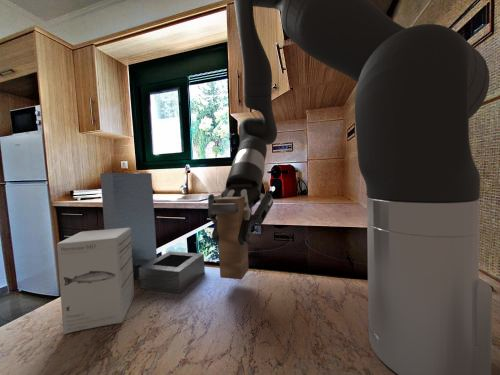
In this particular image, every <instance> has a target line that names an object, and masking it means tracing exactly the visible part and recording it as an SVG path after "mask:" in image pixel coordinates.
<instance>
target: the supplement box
mask: <svg viewBox="0 0 500 375" xmlns="http://www.w3.org/2000/svg"><path fill="white" fill-rule="evenodd" d="M56 249H57V264H58V266H57V267H58V279H59V292H60V303H61V319H62V320H61V321H62V333H63V334H64V335H67V334H71V333H75V332H78V331H84V330H88V329H94V328H100V327H104V326H109V325H117V324H121V323H123V321H124V320H125V317H126V316H127V314H128V311H129V309H130V307H131V305H132V303H133V300H134V298H135V290H134V289H135V284H134V280H133V264H132V248H131V228H119V229H107V230H105V229H96V230H87V231H86V230H85V231H80V232H78V233H76V234H73V235H71V236H69V237H67V238H65V239H64V240H61V241H59V242H58V243H56Z"/></svg>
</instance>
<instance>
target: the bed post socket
mask: <svg viewBox="0 0 500 375" xmlns="http://www.w3.org/2000/svg"><path fill="white" fill-rule="evenodd" d="M99 175H100V187H101V188H100V189H101V200H102V202H101V203H102V213H103V216H102V217H103V224H104V225H103V226H104V229H103V230H107V229H119V228H131V248H132V264H133V281H135V280H139V287H140V289H144V290H151V291H157V292H165V293H172V294H178V295H179V294H180V295H182V293H183V292H184V291H185V290H186V289H187V288H189V287H190V286H191V285H192V284H193V283H194V282H195V281H196V280H198V279H199V278H200V277H201V276H202V275H204V273H205V270H206V269H205V254H204V253H197V252H182V251H167V252H166V253H164V254H162V255H160V256H158V252H157V239H156V237H157V236H156V224H155V207H154V192H153V179H152V178H153V176H152V172H151V173H150V172H149V173H148V172H147V173H146V172H143V173H140V172H134V173H133V172H110V173H109V172H108V173H107V172H105V173H100V174H99Z"/></svg>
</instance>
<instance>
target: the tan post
mask: <svg viewBox="0 0 500 375" xmlns="http://www.w3.org/2000/svg"><path fill="white" fill-rule="evenodd" d="M244 205H245V196H243V197H223V198H219V199H216V203H215V204H211V210H212V214H217V228H218V240H219V242H218V244H217V245H218V257H219V258H218V260H219V261H218V262H219V275H220V276H219V277H220V278H222V279H230V280H231V279H233V280H239V281H241V280H243V279H244V277H245V276H246V274H248V271H249V270H250V268H249V252H248V251H249V250H248V242H245V245H240V243H239V242H238V235H239V232H240V228H241V223H242V221H244V217H243V214H244Z"/></svg>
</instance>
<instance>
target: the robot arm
mask: <svg viewBox="0 0 500 375" xmlns="http://www.w3.org/2000/svg"><path fill="white" fill-rule="evenodd" d="M233 2H234V10H235V11H234V12H235V19H236V26H237V32H238V39H239V44H240V45H239V46H240V52H241V58H242V59H241V60H242V70H243V71H242V72H243V95H244V96H243V98H244V99H243V101H244V106H245V107H246V108H247V109H249V110H254V111H257V112H259V113H260V114H262V116H263V118H261V117H247V118H244V119H243V120H241V121H240V123H239V126H238V135H239V146H238V149H237V153H236V155H235V157H234V159H233V161H232V164H231V167H230V170H229V173H228V175H227V179H226V181H225V188H224V190H222V192H221V194H218V195H214V194H211V193H210V194H209V195H208V196H207V206H208V207H207V208H208V209H207V210H208V211H207V212H208V213H207V214H208V217H209V219H210V220H211V222H212V223H213V224H214V226H213V229H212V233H211V237H212V239H213V241H214V242H215V243H216V244H217V245H218V242H219V240H218V228H217V214H212V210H211V204H215V203H216V199H219V198H223V197H243V196H245V205H244V214H243V217H244V221H242V223H241V228H240V232H239V235H238V242H239V243H240V245H245V242H247V243H248V242H249V240H250V237H251V231H252V228H253V226H254V225H262V224H263V223H264V221H265V219H266V217H267V216H268V214H269V212H270V210H271V208H272V206H273V204H274V199H273V196H272V193H271V192H266V193H262V192H261V190H262V186H263V185H262V184H263V179H264V176H265V169H266V168H265V166H266V165H265V163H266V157H267V151H268V148H267V147H268V146H269V145H273V143H274V142H275V141H276V140H277V136H278V128H277V123H276V119H275V117H274V116H275V115H274V112H273V101H272V100H273V99H272V98H273V96H272V92H273V72H272V66H271V62H270V59H269V58H268V55H267V53H266V51H265V49H264V46H263V43H262V42H261V39H260V37H259V33H258V31H257V27H256V24H255V16H254V7H255V8H256V7H257V8H265V9H266V8H267V9H275V10H278V11H279V12H280V17H281V19H280V20H281V25H282V28H283V30H284V32H285V34H286V35H287V37H288V38H289V39H290V41H292V42H293V43H294V44H295V45H296V46H298V48H300V50H301V51H303V52H304V53H305V54H307V55H309V56H310V57H311V58H312V59H315V60H316V61H318V62H320V63H322V64H324V65H325V66H327V67H329V68H331V69H333V70H335V71H337V72H339V73H341V74H343V75H345V76H347V77H348V78H350V79H352V80H354V81H355V82H356V83H357V84H356V89H355V96H354V116H355V117H354V118H355V119H354V121H355V136H356V137H355V138H356V149H357V150H356V151H357V162H358V168H359V171H360V174H361V176H362V178H363V180H364V183H365V188H366V222H367V223H366V226H367V227H366V228H367V231H366V233H367V236H366V237H367V238H366V239H367V300H368V301H367V302H368V303H367V305H368V308H367V309H368V311H367V312H368V318H367V326H368V341H369V342H368V343H369V345H370V347H371V349H372V352H374V353H375V355H376V356H377V358H378V359H379V360H380V361H381V362H382V363H383V364H384V365H385V366H386V367H388V369H390V370H391V371H392V372H394V373H395V374H397V375H492V342H493V341H492V338H493V336H492V334H493V332H492V331H493V330H492V327H493V326H492V324H493V319H492V318H493V287H491V285H490V284H489V283H488V282H486V281H485V280H484V279H481V277H479V276H480V208H481V207H480V206H481V205H480V203H481V202H480V201H481V200H480V198H481V197H480V196H481V195H480V194H481V174H480V172H479V169H478V168H477V165H476V164H475V161H474V158H473V155H472V150H471V145H470V128H469V127H470V126H469V123H470V121H469V120H470V119H471V118H473V116H474V115H475V114H476V113H477V112H478V111H479V110H480V108H481V107H482V105H483V104H484V102H485V100H486V98H487V96H488V92H489V89H490V88H489V87H490V80H491V79H490V70H489V67H488V63H487V61H486V59H485V57H483V55H482V54H481V53H480V52H479V51H478V50H477V49H476V48H475V47H474V46H473V45H472V44H470V42H468V40H467V39H466V38H464V36H462V35H461V34H460V33H459V32H458V31H456V30H454V29H453V28H450V27H448V26H445V25H440V24H435V23H426V24H425V23H422V24H417V25H413V26H409V27H407V28H406V27H404V26H403V25H401V24H399V23H397V22H396V21H395V20H393V19H392V18H390V17H389V16H388V15H387V14H386V13H385V12H384V11H383V10H381V8H379V7H378V6H377V5H375V3H373V1H371V0H233ZM257 203H259V204H258V206H257V208H256V209H255V211H254V213H253V207H254V206H255V205H257Z"/></svg>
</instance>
